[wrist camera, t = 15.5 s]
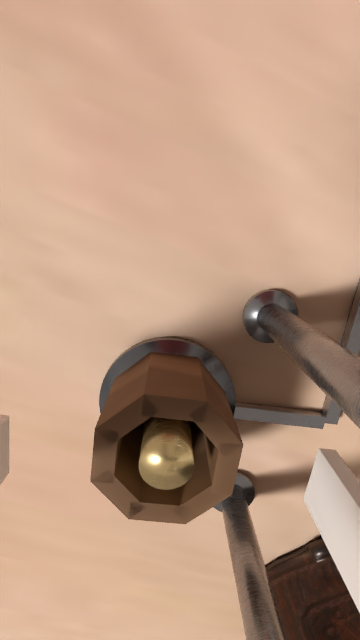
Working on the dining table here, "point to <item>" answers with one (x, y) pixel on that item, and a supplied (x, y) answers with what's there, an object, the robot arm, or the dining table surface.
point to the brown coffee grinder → (313, 596)
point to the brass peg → (161, 433)
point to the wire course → (341, 394)
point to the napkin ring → (172, 403)
